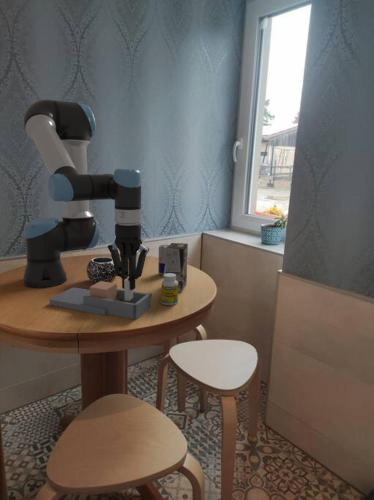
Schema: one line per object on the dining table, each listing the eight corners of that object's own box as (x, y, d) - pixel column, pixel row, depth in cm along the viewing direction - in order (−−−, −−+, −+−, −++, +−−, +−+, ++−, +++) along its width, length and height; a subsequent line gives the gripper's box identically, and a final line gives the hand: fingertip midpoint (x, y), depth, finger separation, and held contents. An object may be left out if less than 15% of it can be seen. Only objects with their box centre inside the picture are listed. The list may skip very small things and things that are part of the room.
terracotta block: (90, 302, 110) (89, 286, 109) (100, 295, 116) (100, 281, 114) (107, 305, 108) (106, 289, 107) (117, 298, 114) (116, 283, 113)
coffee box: (182, 292, 126) (183, 248, 122) (164, 291, 127) (165, 247, 123) (187, 284, 134) (188, 243, 130) (170, 283, 136) (171, 242, 132)
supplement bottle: (176, 299, 120) (176, 271, 118) (179, 305, 115) (179, 277, 113) (160, 299, 119) (160, 272, 116) (162, 306, 114) (163, 277, 111)
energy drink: (158, 272, 148) (158, 244, 145) (171, 272, 149) (171, 244, 146) (158, 276, 143) (158, 247, 140) (171, 276, 143) (172, 247, 140)
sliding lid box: (49, 305, 112) (48, 291, 111) (73, 292, 123) (72, 280, 122) (134, 321, 102) (134, 306, 101) (152, 306, 114) (152, 292, 112)
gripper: (101, 223, 102) (103, 300, 107) (142, 227, 98) (142, 306, 103) (114, 219, 109) (116, 291, 114) (153, 223, 104) (153, 297, 110)
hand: (128, 298), depth 109 cm, fingers closed
